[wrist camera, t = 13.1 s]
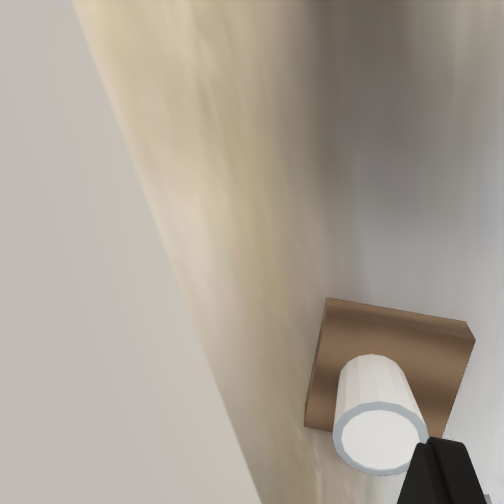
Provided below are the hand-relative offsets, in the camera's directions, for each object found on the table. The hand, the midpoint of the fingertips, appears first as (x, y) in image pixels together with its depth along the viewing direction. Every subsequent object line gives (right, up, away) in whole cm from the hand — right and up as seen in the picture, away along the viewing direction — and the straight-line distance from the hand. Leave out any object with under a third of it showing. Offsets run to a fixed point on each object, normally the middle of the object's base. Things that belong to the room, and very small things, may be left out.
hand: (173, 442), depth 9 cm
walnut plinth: (+13, -7, +33) cm, 36 cm away
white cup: (+12, -7, +31) cm, 34 cm away
